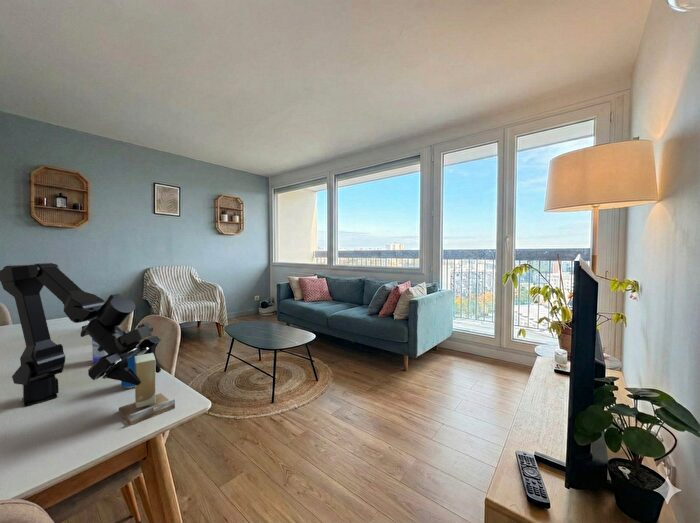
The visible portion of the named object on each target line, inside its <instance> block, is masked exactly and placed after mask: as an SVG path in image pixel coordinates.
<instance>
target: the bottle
mask: <svg viewBox="0 0 700 523" xmlns="http://www.w3.org/2000/svg"><path fill="white" fill-rule="evenodd" d="M91 345H92V346H91V348H92V361H93V362H94V363H96V362H97V361H98V360H99V359H100V358H101V357H103V356H106V355H108V354H107V353H106V352H105V351H101V352H99V351H98V350H97V349H98V348H99V347H100V346H99V345H98V343H97V342H96V341H95V340H94V339H93V338H92V337H91Z"/></svg>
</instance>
